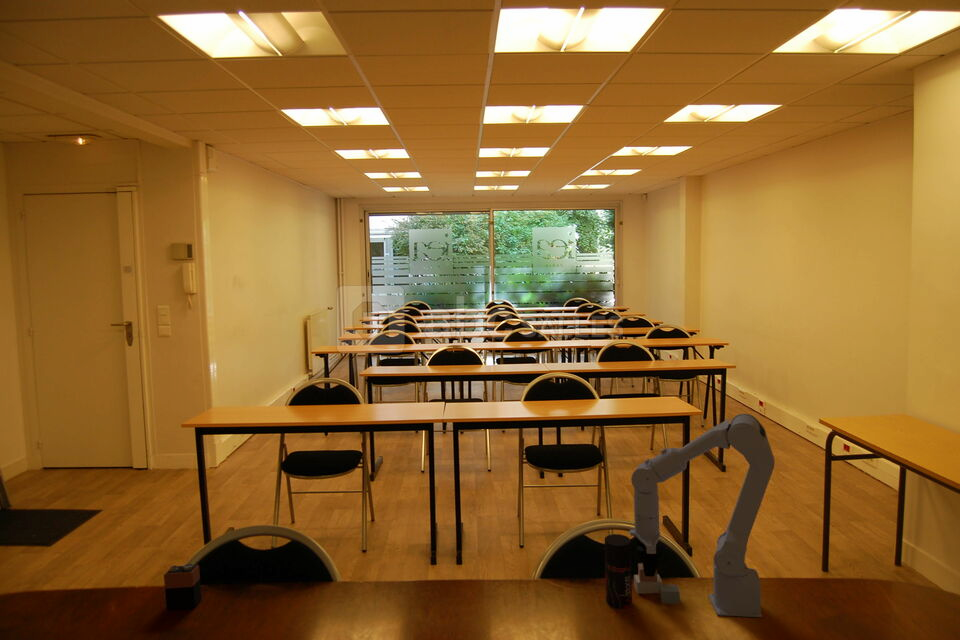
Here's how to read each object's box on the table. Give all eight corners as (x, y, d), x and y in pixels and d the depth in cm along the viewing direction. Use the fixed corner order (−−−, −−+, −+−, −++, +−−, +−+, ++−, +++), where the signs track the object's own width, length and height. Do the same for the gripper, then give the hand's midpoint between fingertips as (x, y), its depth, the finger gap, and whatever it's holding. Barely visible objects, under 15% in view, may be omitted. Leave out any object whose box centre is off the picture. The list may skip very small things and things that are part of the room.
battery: (194, 609, 138) (191, 569, 137) (165, 611, 137) (162, 571, 137) (202, 599, 142) (199, 560, 141) (174, 601, 142) (171, 562, 141)
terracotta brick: (655, 575, 139) (654, 563, 139) (657, 582, 136) (656, 570, 136) (638, 575, 140) (638, 563, 140) (640, 581, 137) (639, 569, 137)
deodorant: (626, 611, 129) (624, 548, 128) (601, 603, 133) (600, 541, 132) (636, 599, 134) (634, 538, 133) (612, 592, 138) (611, 532, 137)
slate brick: (677, 597, 135) (676, 584, 135) (679, 604, 132) (679, 591, 132) (659, 596, 135) (659, 584, 135) (661, 603, 132) (661, 591, 132)
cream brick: (658, 585, 140) (658, 574, 140) (662, 593, 137) (662, 581, 136) (634, 586, 140) (633, 574, 140) (637, 594, 137) (637, 582, 136)
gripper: (626, 501, 145) (627, 553, 146) (632, 526, 130) (634, 583, 131) (655, 502, 144) (656, 554, 145) (664, 527, 129) (665, 585, 130)
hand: (647, 568), depth 138 cm, fingers open, 6 cm apart
